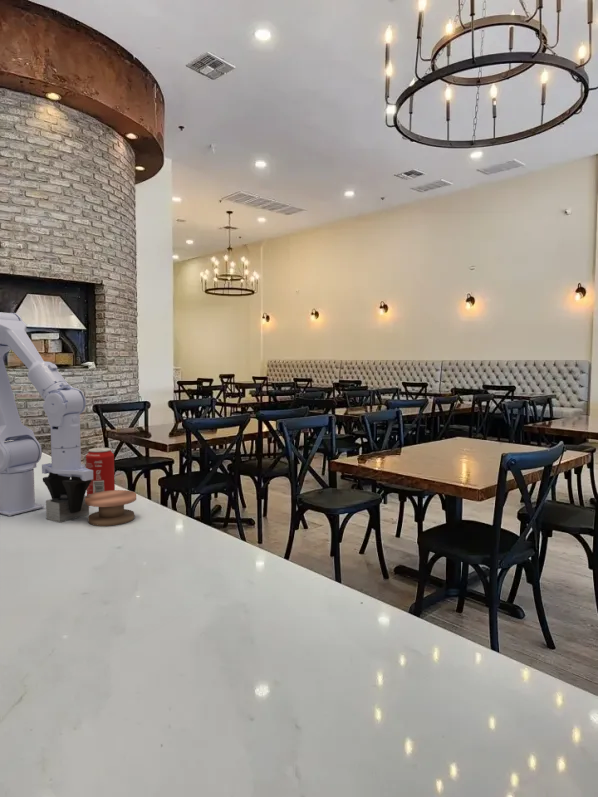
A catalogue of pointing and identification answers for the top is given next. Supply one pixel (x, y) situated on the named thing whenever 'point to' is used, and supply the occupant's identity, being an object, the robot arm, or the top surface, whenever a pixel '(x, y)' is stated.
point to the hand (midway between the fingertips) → (67, 510)
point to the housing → (63, 509)
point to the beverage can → (101, 470)
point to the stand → (110, 507)
